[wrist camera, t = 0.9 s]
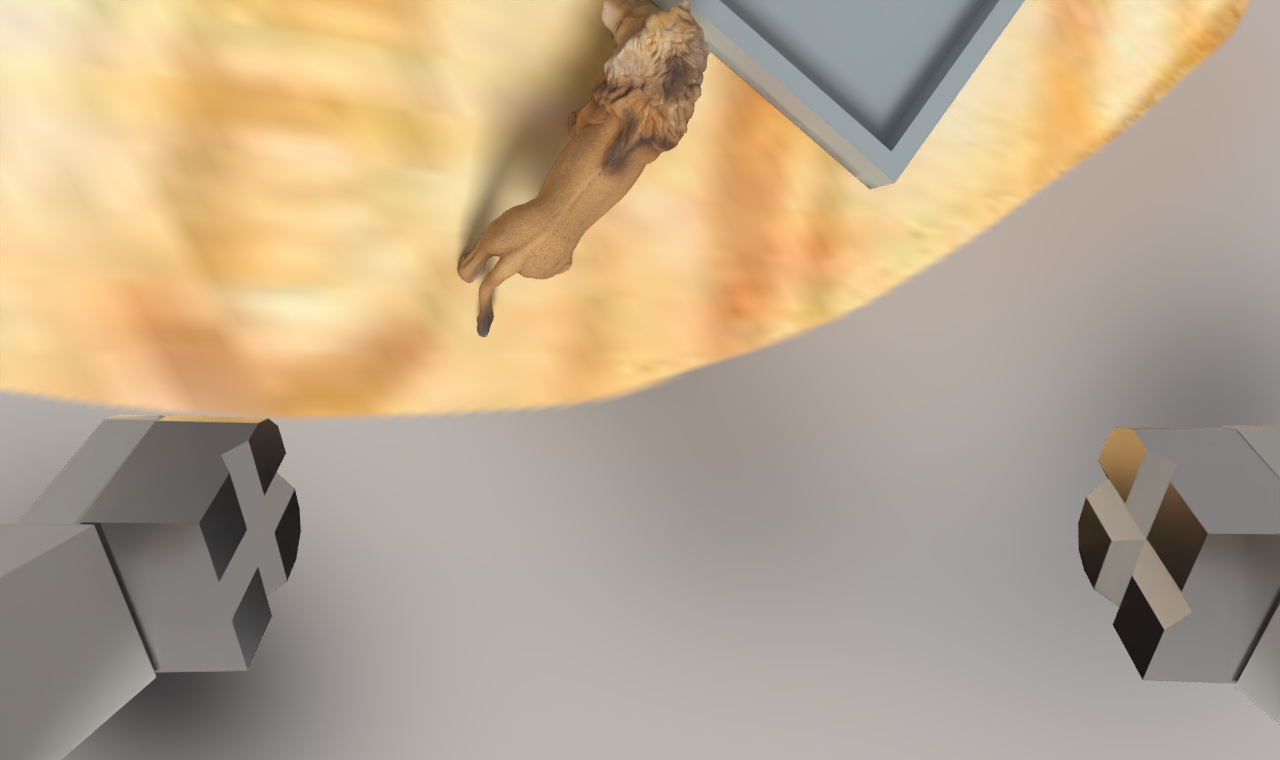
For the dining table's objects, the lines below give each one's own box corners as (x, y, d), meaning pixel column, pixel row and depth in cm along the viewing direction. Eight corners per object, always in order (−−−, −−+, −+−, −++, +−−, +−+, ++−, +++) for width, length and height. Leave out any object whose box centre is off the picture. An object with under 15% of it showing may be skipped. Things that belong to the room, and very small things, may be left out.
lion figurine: (590, 19, 42) (634, -53, 34) (690, 84, 44) (758, 31, 35) (429, 308, 42) (431, 311, 33) (535, 365, 43) (564, 383, 34)
